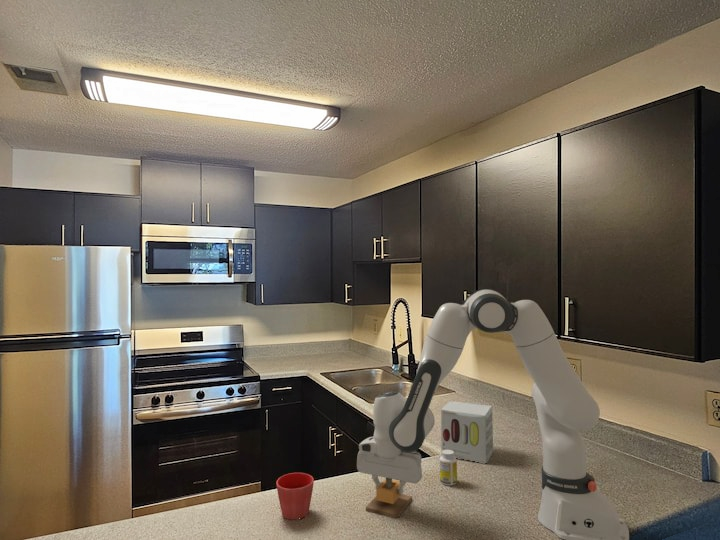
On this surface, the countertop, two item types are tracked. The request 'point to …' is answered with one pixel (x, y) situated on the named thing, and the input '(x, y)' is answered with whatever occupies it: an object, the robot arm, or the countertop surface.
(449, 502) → the countertop surface
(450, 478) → the supplement bottle
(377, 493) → the orange hollow square block
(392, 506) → the peg mounting plate
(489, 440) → the supplement box
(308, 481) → the flower pot
